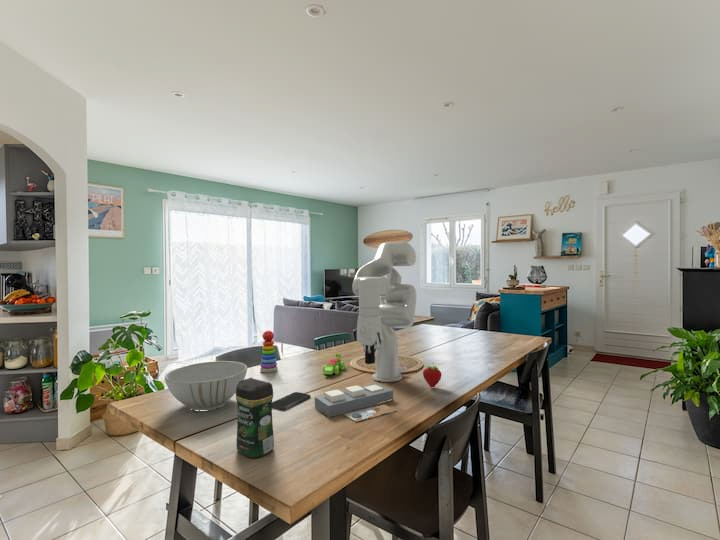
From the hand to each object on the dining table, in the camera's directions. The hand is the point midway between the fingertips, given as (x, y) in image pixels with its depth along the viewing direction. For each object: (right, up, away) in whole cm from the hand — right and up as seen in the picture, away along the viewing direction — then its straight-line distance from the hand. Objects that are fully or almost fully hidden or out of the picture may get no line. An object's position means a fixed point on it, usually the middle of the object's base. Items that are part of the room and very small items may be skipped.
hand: (370, 363), depth 132 cm
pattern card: (0, -13, -12) cm, 18 cm away
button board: (-5, -13, -3) cm, 15 cm away
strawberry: (+25, -13, +13) cm, 31 cm away
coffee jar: (-31, -14, -35) cm, 49 cm away
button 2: (+1, -13, +1) cm, 13 cm away
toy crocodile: (-16, -14, +37) cm, 43 cm away
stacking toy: (-46, -14, +40) cm, 62 cm away
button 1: (-12, -12, -8) cm, 18 cm away
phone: (-29, -14, 0) cm, 32 cm away
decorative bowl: (-57, -14, -2) cm, 59 cm away
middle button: (-5, -11, -3) cm, 13 cm away
